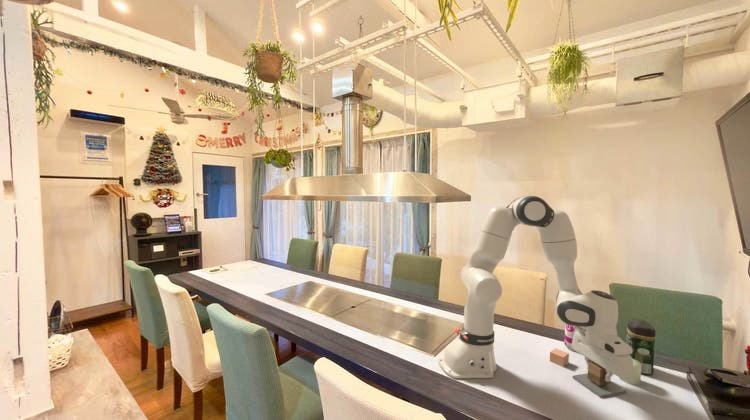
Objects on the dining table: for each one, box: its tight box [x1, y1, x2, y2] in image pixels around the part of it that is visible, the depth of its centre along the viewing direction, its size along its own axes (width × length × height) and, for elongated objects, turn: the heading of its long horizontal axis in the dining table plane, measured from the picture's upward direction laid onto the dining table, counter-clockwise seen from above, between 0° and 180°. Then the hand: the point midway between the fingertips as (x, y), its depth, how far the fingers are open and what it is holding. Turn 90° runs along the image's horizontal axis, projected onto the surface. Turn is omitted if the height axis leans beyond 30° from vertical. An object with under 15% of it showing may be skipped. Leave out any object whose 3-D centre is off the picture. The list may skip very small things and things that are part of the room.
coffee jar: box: [625, 318, 656, 375], centre depth 117 cm, size 10×8×19 cm
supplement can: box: [563, 323, 586, 352], centre depth 133 cm, size 8×8×15 cm
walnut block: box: [587, 361, 610, 386], centre depth 108 cm, size 4×4×6 cm
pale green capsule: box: [618, 359, 642, 386], centre depth 111 cm, size 6×6×7 cm
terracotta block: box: [549, 348, 570, 368], centre depth 122 cm, size 5×5×4 cm
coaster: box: [572, 372, 627, 398], centre depth 108 cm, size 11×11×1 cm
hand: (598, 375), depth 108 cm, fingers closed on walnut block, 4 cm apart
